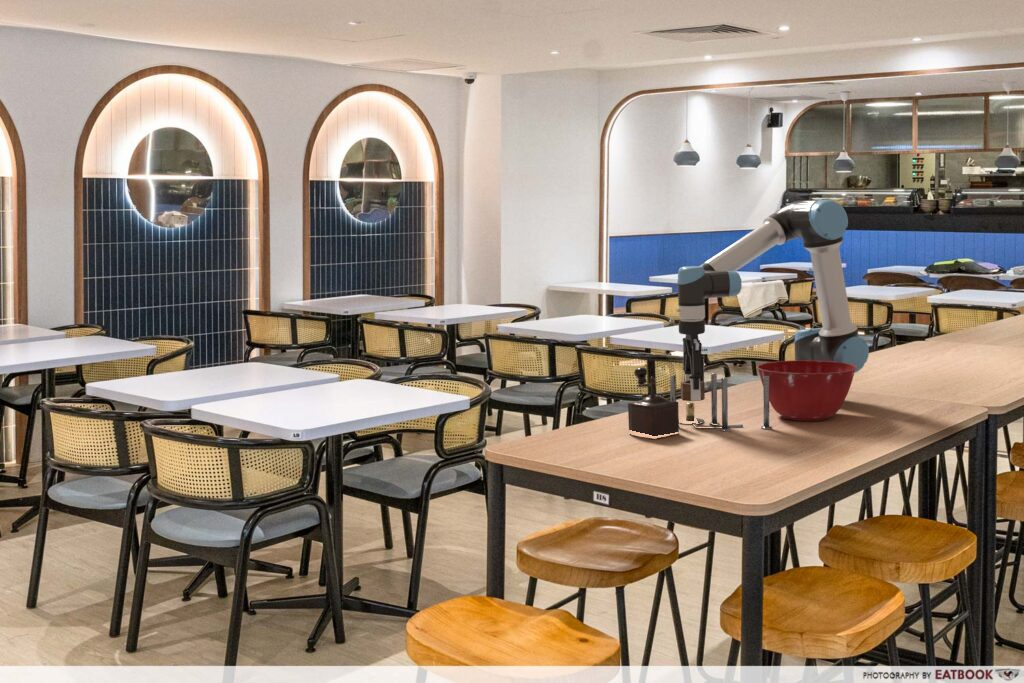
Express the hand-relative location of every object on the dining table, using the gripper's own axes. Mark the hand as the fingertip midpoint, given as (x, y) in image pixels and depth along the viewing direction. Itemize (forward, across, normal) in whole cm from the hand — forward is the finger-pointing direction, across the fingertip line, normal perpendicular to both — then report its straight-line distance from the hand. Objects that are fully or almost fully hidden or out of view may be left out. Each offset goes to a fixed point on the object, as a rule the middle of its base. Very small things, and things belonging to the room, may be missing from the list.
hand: (692, 398), depth 335 cm
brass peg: (+8, -3, 0) cm, 8 cm away
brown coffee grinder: (+8, +10, -15) cm, 20 cm away
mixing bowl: (+8, -3, +35) cm, 36 cm away
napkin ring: (0, 0, 0) cm, 0 cm away
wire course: (+8, +7, +6) cm, 12 cm away
